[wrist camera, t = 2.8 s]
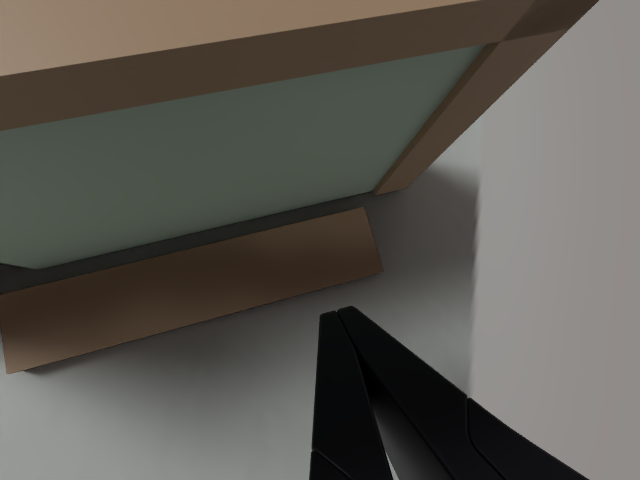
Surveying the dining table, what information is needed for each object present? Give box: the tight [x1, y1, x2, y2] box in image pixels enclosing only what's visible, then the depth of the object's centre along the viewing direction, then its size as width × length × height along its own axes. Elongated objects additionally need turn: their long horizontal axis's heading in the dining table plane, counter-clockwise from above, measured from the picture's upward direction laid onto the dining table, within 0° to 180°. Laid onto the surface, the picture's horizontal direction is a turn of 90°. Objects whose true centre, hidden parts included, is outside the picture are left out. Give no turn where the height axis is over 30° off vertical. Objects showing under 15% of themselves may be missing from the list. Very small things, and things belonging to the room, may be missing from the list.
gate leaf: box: [0, 0, 599, 270], centre depth 11 cm, size 16×2×11 cm, turn 105°
